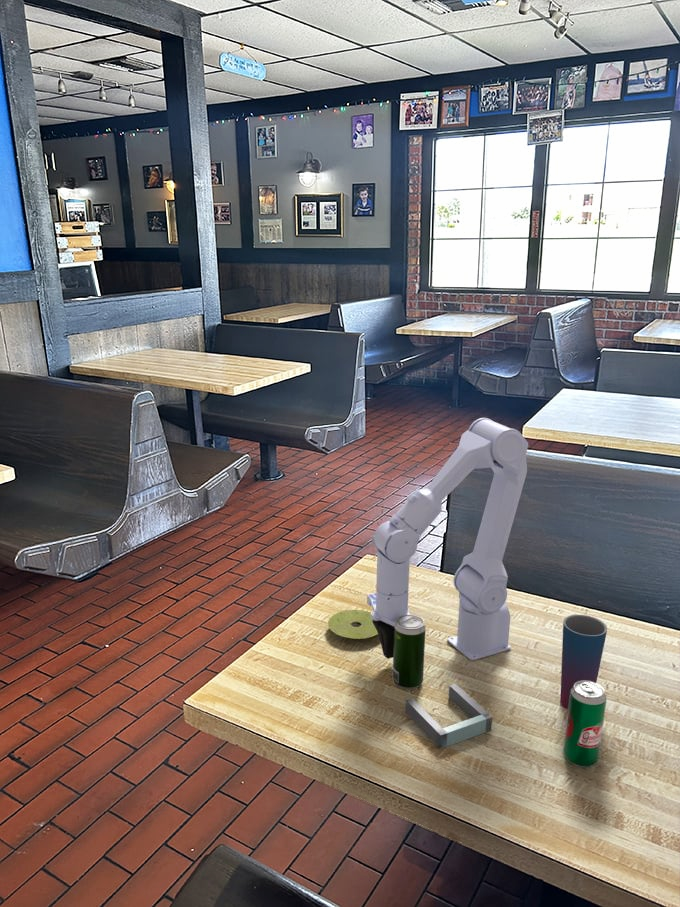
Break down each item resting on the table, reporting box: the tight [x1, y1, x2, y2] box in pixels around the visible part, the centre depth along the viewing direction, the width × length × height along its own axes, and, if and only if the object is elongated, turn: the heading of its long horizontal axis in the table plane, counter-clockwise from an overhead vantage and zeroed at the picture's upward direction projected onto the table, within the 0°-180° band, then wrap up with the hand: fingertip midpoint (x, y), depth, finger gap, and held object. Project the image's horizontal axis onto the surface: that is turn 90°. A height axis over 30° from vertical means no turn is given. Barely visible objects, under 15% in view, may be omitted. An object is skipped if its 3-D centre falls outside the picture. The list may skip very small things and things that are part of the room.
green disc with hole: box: [327, 609, 378, 640], centre depth 142 cm, size 11×11×2 cm
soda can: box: [562, 680, 607, 768], centre depth 106 cm, size 5×5×12 cm
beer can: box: [392, 613, 427, 691], centre depth 124 cm, size 5×5×12 cm
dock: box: [404, 683, 493, 750], centre depth 115 cm, size 10×10×2 cm
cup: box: [559, 614, 608, 711], centre depth 118 cm, size 7×7×15 cm
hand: (390, 655), depth 130 cm, fingers closed
